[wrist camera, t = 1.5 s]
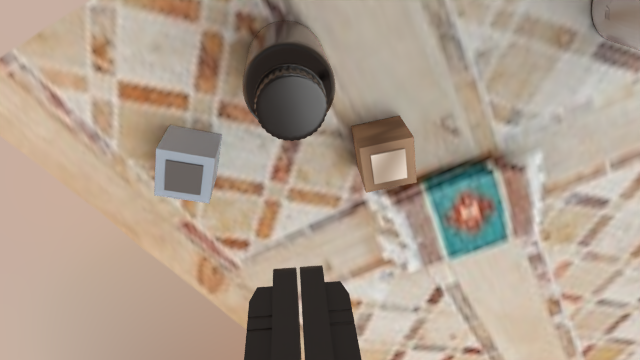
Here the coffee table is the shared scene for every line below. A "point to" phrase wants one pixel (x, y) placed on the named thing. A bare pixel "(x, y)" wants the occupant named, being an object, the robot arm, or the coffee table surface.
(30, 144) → the coffee table surface
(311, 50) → the supplement bottle
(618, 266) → the coffee table surface
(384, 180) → the walnut block
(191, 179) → the slate-blue block
